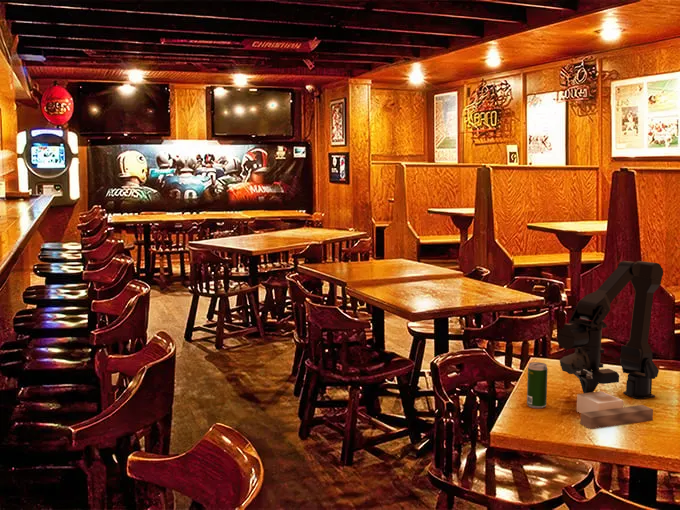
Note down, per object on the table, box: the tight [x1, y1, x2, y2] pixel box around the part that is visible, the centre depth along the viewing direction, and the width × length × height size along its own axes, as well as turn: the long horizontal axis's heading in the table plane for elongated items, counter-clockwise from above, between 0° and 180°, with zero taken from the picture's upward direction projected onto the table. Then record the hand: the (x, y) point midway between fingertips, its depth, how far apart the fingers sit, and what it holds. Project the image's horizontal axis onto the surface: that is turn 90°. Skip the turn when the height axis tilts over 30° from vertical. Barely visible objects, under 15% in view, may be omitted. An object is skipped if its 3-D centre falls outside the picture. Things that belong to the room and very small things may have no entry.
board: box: [580, 404, 654, 430], centre depth 203 cm, size 20×4×3 cm, turn 110°
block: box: [576, 390, 624, 414], centre depth 209 cm, size 8×9×5 cm
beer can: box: [526, 361, 549, 410], centre depth 216 cm, size 5×5×12 cm
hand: (587, 399), depth 214 cm, fingers closed
